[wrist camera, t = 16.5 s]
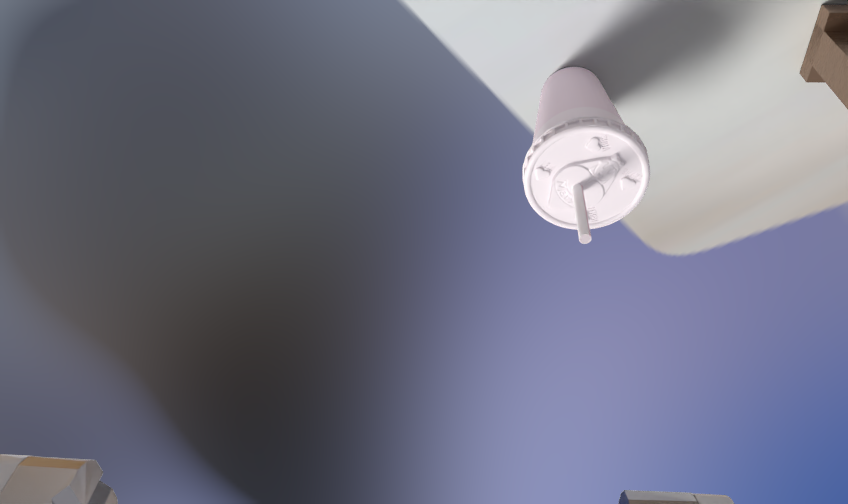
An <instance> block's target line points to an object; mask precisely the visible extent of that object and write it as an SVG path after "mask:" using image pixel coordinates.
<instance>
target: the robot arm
mask: <svg viewBox="0 0 848 504" xmlns="http://www.w3.org/2000/svg"><path fill="white" fill-rule="evenodd" d="M102 474H103V471H102V469H101V468H100V466H99V465H98V463H97V462H96V460H83V459H66V458H49V457H48V458H47V457H36V456H26V455H5V454H0V504H118V502H117V497H116V495H115V493H114V491H113V489H112V488H111V487H109V486H107V485H106V484H104V483H103V482H101V481H100V478H101V476H102ZM619 504H734V503H733V501H732V500H731V498H730V497H728V496H726V495H710V494H691V493H681V492H655V491H631V490H630V491H629V490H624V491H623V492H622V493H621V495H620V499H619Z"/></svg>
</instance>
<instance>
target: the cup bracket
mask: <svg viewBox="0 0 848 504" xmlns="http://www.w3.org/2000/svg"><path fill="white" fill-rule="evenodd" d="M800 74H801V76H802V77H803V78H804V80H805V81H806V82H826V83H827V85H828V86H829V87H830V88H831V89H832V91H833V92H834V93H835V94H836V96H837V97H838V98H839V99H840V100H841V102H842V103H843V104H844V105H845V106H846V108H847V109H848V5H821V8H820V11H819V15H818V18H817V21H816V24H815V27H814V30H813V33H812V36H811V39H810V42H809V46H808V49H807V52H806V55H805V58H804V61H803V64H802V67H801V70H800Z"/></svg>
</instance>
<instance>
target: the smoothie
mask: <svg viewBox="0 0 848 504" xmlns="http://www.w3.org/2000/svg"><path fill="white" fill-rule="evenodd" d="M649 180H650V166H649V160H648V155H647V150H646V147H645V146H644V144H643V142H642V141H641V139H640V137H639V136H638V135H637V134H636V133H635V132H634V131H633V130H632V129H630V128H629V127H628V126H627V125H625V124H624V122H623V120H622V119H621V117H620V115H619V114H618V112H617V110H616V108H615V107H614V105H613V103H612V102H611V100H610V98H609V96H608V95H607V93H606V91H605V90H604V88H603V86H602V84H601V83H600V81H599V79H598V78H597V76H596V75H595V74H594V73H592V72H591V71H589V70H587V69H585V68H582V67H567V68H563V69H560V70H558V71H556V72H555V73H553V74H552V75H551V76H550V77H549V78H548V79H547V80H546V82H545V83H544V85H543V88H542V91H541V97H540V103H539V109H538V114H537V120H536V126H535V132H534V138H533V144H532V146H531V148H530V149H529V151H528V152H527V154H526V158H525V161H524V164H523V183H524V189H525V194H526V196H527V199H528V201H529V203H530V205H531V206H532V208H533V209H534V210H535V211H536V212H537V213H538V214H539V215H540V216H541V217H542V218H544V219H545V220H547V221H549V222H551V223H553V224H555V225H557V226H561V227H564V228H569V229H578V235H579V241H580V242H581V243H583V244H586V243H589V242H590V241H591V234H590V229H594V228H599V227H603V226H606V225H609V224H611V223H614V222H616V221H618V220H620V219H621V218H623V217H624V216H626V215H627V214H628V213H630V212H631V211H632V210H633V209H634V208H635V207H636V206H637V205H638V204H639V202H640V201H641V200H642V198H643V196H644V195H645V192H646V190H647V187H648V184H649Z"/></svg>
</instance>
